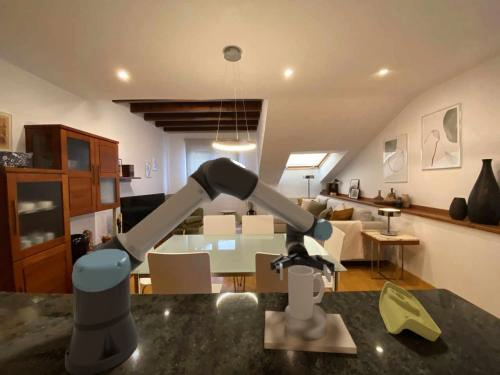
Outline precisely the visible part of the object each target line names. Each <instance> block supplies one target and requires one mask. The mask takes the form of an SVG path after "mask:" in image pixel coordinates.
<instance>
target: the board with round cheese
mask: <svg viewBox="0 0 500 375" xmlns="http://www.w3.org/2000/svg"><path fill="white" fill-rule="evenodd" d="M264 316H265V317H264V318H265V320H264V322H265V323H264V341H263V342H264V344H263V346H264V348H263V349H269V350H270V349H271V350H285V351H287V350H288V351H302V352H317V353H318V352H319V353H323V352H324V353H337V354H353V355H354V354H355V355H356V354H358V352H357V351H358V350H357V345H356V344H355V342H354V340H353V338H352V336H351V334H350V331H349V330H348V328H347V326H346V324H345V322H344V320H343V318H342V316H341V314H339V313H327V312H326V311H325V310H324V308H323V307H321V306H319V305H318V304H316V303H315V304H313V315H312V317H311V318H310V319H308V320H298V319H295V318H293V317H292V316H291V315H290V314H289V304H288V305H287V306H286V307H285V309H284V311H277V310H276V311H273V310H272V311H271V310H265V315H264Z"/></svg>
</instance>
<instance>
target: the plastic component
mask: <svg viewBox="0 0 500 375" xmlns="http://www.w3.org/2000/svg"><path fill="white" fill-rule="evenodd" d="M379 296H380V297H379V303H378V306H379V307H378V308H379V313H380V316H381V318H382V321H383V323H384V326H385V327H386V330H387V332H389V333H390V334H392V335H397V334H400V333H402V331H403V330H407V329H408V330H410V331H412V332H414V333H415V334H417V335H419V336H421V337H423V338H424V339H426V340H428V341H431V342H436V341H437V339H438V338H439V337H440V335H441V334H442V331H441V329H440V327H439V326H438V325H437V324H436V322H435V321H434V319H433V318H432V317H431V316H430V314H429V313H428V312H427V310H426V308H424V306H423V305H422V304H421V302H420V301H419V300H418V299H417V298H416V297H415V296H413V294H412V293H410V292H409V291H408V290H405V289H404V288H402V287H400V286H399V285H397V284H395V283H393V282H392V281H385V283H384V285H383V287H382V290H381V293H380V295H379Z"/></svg>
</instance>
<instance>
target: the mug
mask: <svg viewBox="0 0 500 375" xmlns="http://www.w3.org/2000/svg"><path fill="white" fill-rule="evenodd" d="M314 272H315V271H314V269H313V267H307V266H302V265H295V266H291V267H290V266H289V267H287V286H288V288H287V289H288V305H289V314H290V315H291V316H292V317H293V318H295V319H298V320H308V319H310V318H311V317H312V315H313V304H315V305H316V304H320V303H321V301H322V299H323V296H324V293H325V289H326V288H325V286H326V285H325V281H324V277H323V276H322V273H321V272H316V273H314ZM315 280H318V281H319V284H320V289H319V293H318V294H317V295H316V296H314V281H315Z"/></svg>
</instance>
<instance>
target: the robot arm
mask: <svg viewBox="0 0 500 375" xmlns="http://www.w3.org/2000/svg"><path fill="white" fill-rule="evenodd" d="M222 194H225V195H229V196H232V197H234V198H236V199H238V200H240V201H242V202H244V201H248V202H250V203H252V204H253V205H255V206H257V207H259V208H260V209H262V210H263V211H265V212H267V213H269V214H271V215H273V217H276V218H278V219H279V220H280V221H282V222H285V244H284V246H285V249H286V253H287V256H286V255H284V254H283V253H280V254H279V256H277V257H276V258H274V259H273V260H271V261H270V263H269V264H270V266H269V267H270V270H271V271H274V270H275V273H276V274H279V280H280V281H284V269H286V268H287V269H288V268H289V267H291V266H295V265H302V266H307V267H310V268H312V269H313V268H314V269H316V270H319V271H321V272H323V274H324V275H323V276H324V277H325V278H326V280H327V283H331V282H332V275H333V273H334V272H335V264H336V263H333V262H331V261H329V260H328V259H326V258H323V257H321V256H320V255H318V254H315V255H314V257H313V256H311V255H310V254H309V252H308V250H307V248H306V246H305V237H309V238H312V239H314V240H317V241H322V242H326V241H329V239H330V238H331V237H332V235H333V232H334V230H333V224H332V223H331V222H330V221H329V220H327V219H325V218H320V217H317V216H316V215H315V214H313V213H311V212H310V211H308V210H307V209H305V208H304V207H302V206H301V205H299V204H297V203H296V202H294V201H293V200H291V199H289V198H288V197H286V196H285V195H283V194H282V193H280V192H279V191H278V190H276V189H274V188H273V187H271V186H269V185H268V184H266V183H265V182H263V181H262V180H261V179H260V176H259V175H258V174H257V173H255V172H254V171H252V170H251V169H249V168H248V167H247V166H245V165H243V164H241V163H240V162H238V161H237V160H235V159H233V158H230V157H226V156H225V157H223V156H222V157H218V158H217V157H216V158H214V159H210V160H206V161H204V162H202V164H200V165H199V167H198V168H197V169H196V170H195V171H194V172H193V173H191V174H190V175H189V176H187V183H186V184H185V185H184V186H182V187H181V188H180V189H179V190H178V191H177V192H175V193H174V194H173V195H171V196H170V197H169V198H168V199H166V200H165V201H164V202H163V203H162V204H160V205H159V206H158V207H157V208H156V209H154V210H152V212H151V213H149V214H148V215H147V216H145V218H143V219H142V220H141V221H140V222H138V223H137V224H135V226H133V227H132V228H131V229H130V230H129V231H127V232H126V233H123V232H122V233H117V234H116V235H114V236H112V238H111V239H109V240H108V241H107V242H105V243H103V244H100V245H99V246H97V247H96V248H95V249H94V250H93V251H92V252H89V253H87V254H84V255H82V256H81V257H79V258H78V259H76V261H75V263H74V265H73V267H72V274H71V280H72V281H71V282H72V300H73V302H72V303H73V330H72V333H71V336H70V338H69V342H68V344H67V348H66V350H65V355H64V367H65V370H66V371H67V372H68V373H69V374H70V375H98V374H100V373H104V372H105V371H108V370H111V369H114V368H115V367H116V366H118V365H120V364H122V363H123V362H124V361H126V360H128V358H130V357H131V356H132V355H133V354H134V353H135V351H136V350H137V347H138V345H139V341H140V340H139V338H140V337H139V336H140V335H139V329H138V327H137V326H136V323H135V320H134V318H133V315H132V312H131V273H133V272H134V271H135V270H136V269H138V268H139V266H141V265H142V264H143V263H144V262H145V260H146V254H147V253H148V252H149V251H150V250H151V249H153V247H155V246H156V245H157V244H159V242H160V241H162V240H163V239H164V238H165V237H167V235H170V234H169V233H171V232H173V230H174V229H175V228H177V227H178V226H179V225H180V224H181V223H183V222H184V221H185V220H186V219H187V218H188V217H190V215H191V214H192V213H194V212H195V211H196V210H197V209H199V207H201V206H202V205H203V204H206V203H212V202H213V201H214V200H216V199H217V198H218V197H219V196H220V195H222Z"/></svg>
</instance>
